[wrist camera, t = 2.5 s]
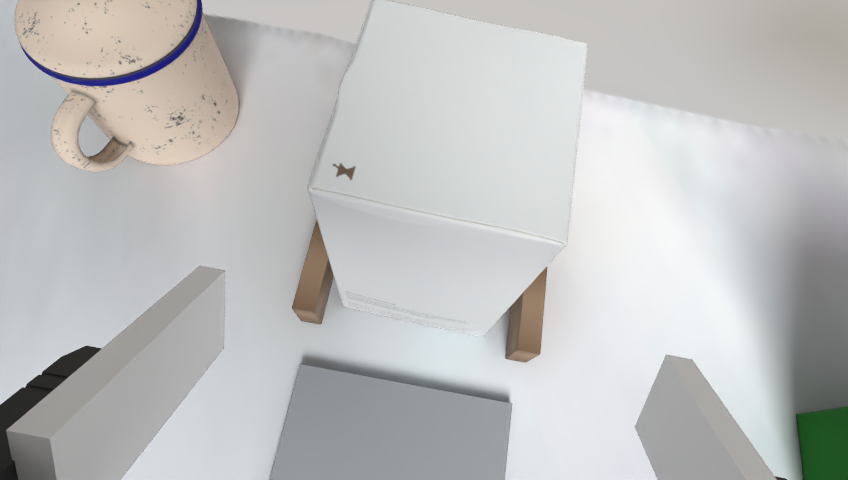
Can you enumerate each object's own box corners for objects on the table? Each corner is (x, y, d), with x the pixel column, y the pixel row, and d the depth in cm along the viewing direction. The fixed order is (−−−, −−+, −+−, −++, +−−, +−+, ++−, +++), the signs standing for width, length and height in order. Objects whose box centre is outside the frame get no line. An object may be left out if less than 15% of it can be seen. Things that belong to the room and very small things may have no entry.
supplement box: (486, 342, 29) (573, 254, 16) (339, 308, 30) (296, 191, 16) (508, 207, 33) (596, 38, 19) (377, 178, 33) (368, -12, 19)
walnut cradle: (348, 146, 34) (344, 120, 31) (542, 182, 34) (556, 159, 31) (301, 320, 29) (291, 308, 26) (525, 362, 29) (540, 354, 26)
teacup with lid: (147, 45, 36) (43, -124, 25) (265, 80, 35) (211, -77, 25) (52, 184, 31) (-124, 50, 21) (186, 227, 31) (77, 112, 20)
